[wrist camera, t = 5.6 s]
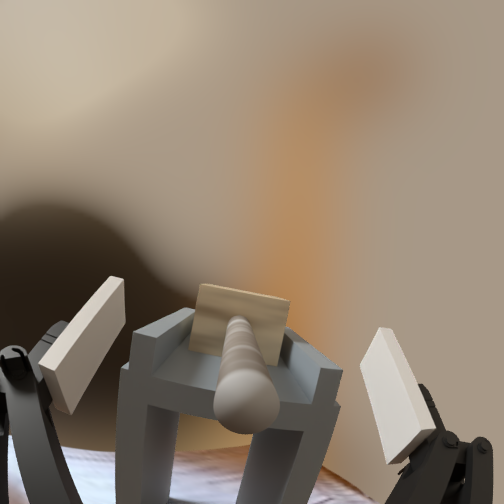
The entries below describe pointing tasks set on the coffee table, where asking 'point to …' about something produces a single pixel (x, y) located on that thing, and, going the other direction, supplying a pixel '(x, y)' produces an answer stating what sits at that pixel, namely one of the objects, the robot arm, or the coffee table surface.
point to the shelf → (201, 404)
